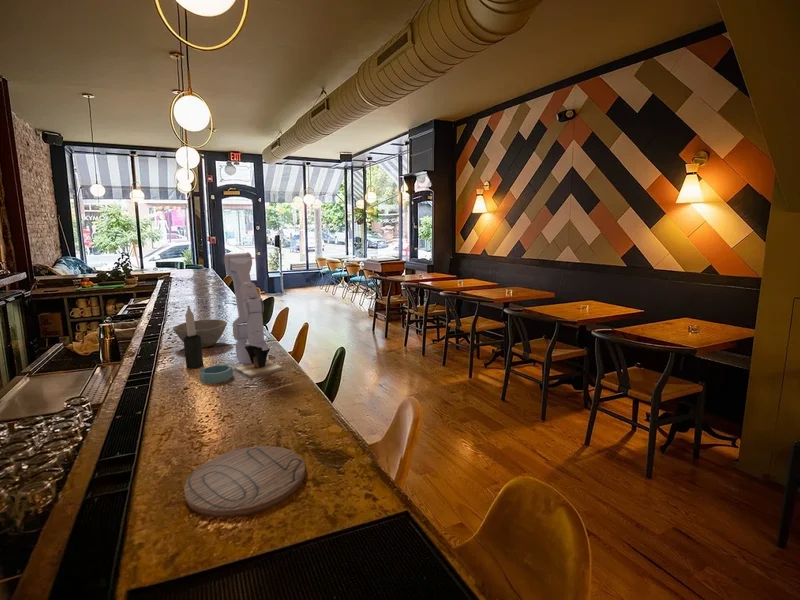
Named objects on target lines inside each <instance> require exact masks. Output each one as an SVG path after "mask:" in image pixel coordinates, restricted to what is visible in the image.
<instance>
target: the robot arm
mask: <svg viewBox="0 0 800 600" xmlns="http://www.w3.org/2000/svg"><path fill="white" fill-rule="evenodd" d="M223 257H224V258H223V260H224V262H223V263H224V269H225V273H226V276H228V277H230V278H231V279H232V282H233V283H232V284H233V289H234V290H233V291H234V295H235V301H236V307H237V315H238V317H237V318H235V319H234V320H233V322H232V335H233V339H234V340H235V341H236V343H235V353H236V358H234V360H236V362H240V363H241V364H242V365H246V364H251V363H252V364H254V360H253V357H254V356H256V357H257V361H258V365H259V367H260V368H261V367H265V364H266V360H267V357H268V354H269V352H270V351H271V350H270V348H269V347H268V346H269V345H268V343H267V342H266V340H265V333H264V331H265V330H264V319H263V313H264V309H265V305H264V300H263V298H262V297H261V296H260V295H259V292H258V290H257V285H256V284H255V283H254V282H252V279H251V275H250V273H251V270H252V266H253V258H252V255H251V253H250V252H248V251H247V252H241V253H240V252H239V253H225V255H224V256H223Z"/></svg>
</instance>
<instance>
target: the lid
mask: <svg viewBox="0 0 800 600" xmlns="http://www.w3.org/2000/svg"><path fill="white" fill-rule="evenodd" d="M253 360H254V364H252V363H251V362H250V363H246V364H242V365H239V366H235V367H234V369H235V370H236V371H238V372H240V373H242V374H243V375H245V376H247V377H249V378H252V377H256V376H259V375H263V374H267V373H271V372H275V371H278V370H282V369H283V368H284V367H283V366H281V365H279V364H277V363H275V362H273V361H270V360H268V359H266V364H265V367H261V368H260V367H259V365H258V361H257V357H256V356H254V357H253ZM282 371H283V370H282ZM275 373H276V372H275ZM271 374H272V373H271ZM267 375H268V374H267ZM256 378H257V377H256ZM252 379H253V378H252Z"/></svg>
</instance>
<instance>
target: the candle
mask: <svg viewBox="0 0 800 600" xmlns="http://www.w3.org/2000/svg"><path fill="white" fill-rule="evenodd" d="M184 314H185V315H184V316H185V323H186V326H187V335H185V337H184V338H183V341H184V342H183V341H182V342H183V347H184V348H183V350H184V357H185V367H186V370H190V369H191V370H198V369H200V368H202V367H203V366H204V358H203V357H204V356H203V351H202V350H203V347H202V346H201V337H200V335H198V334H196V332H195V323H194V321H195V315H194V312H192V310H191V308H190V305H187V310H186V313H184Z"/></svg>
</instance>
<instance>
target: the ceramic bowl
mask: <svg viewBox="0 0 800 600" xmlns="http://www.w3.org/2000/svg"><path fill="white" fill-rule="evenodd" d="M194 323H195V332H196V334H198V335H200V337H201V346H202V348H207V347H208V346H209V347H211V346H213V345H215V344H217V342H218V341H219V340H220V338H221V337H222V335H223V334H224V331H225V330H226V328H227V325H228V321H226V320H222V319H201V320H194ZM172 330H173V332H175V335H176V336H177V337H178V339H179V340H180V341H181V342H182V343H184V341H183V338H184V337H185V335H187V326H186V322H183V323H180V324H177V325H175V326H173V328H172Z"/></svg>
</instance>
